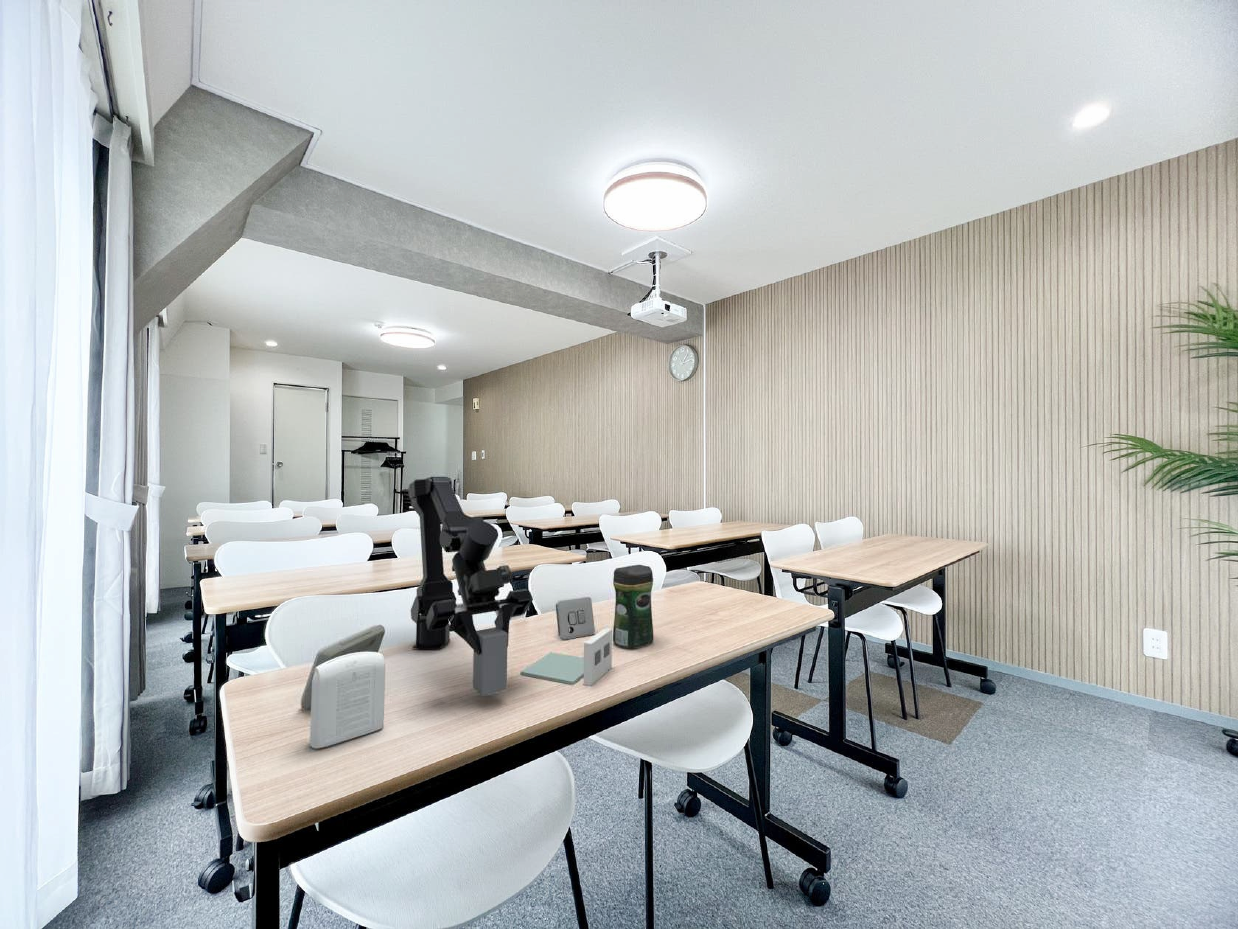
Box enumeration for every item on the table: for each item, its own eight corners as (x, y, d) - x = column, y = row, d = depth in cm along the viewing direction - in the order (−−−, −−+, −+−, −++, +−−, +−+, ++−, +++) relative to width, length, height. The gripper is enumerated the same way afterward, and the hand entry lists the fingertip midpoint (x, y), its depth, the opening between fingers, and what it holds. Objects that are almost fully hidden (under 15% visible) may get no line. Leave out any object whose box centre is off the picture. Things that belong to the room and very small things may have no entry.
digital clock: (366, 673, 101) (367, 620, 101) (400, 681, 97) (401, 626, 97) (286, 708, 86) (287, 645, 86) (322, 718, 82) (323, 653, 82)
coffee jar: (636, 635, 126) (637, 561, 126) (658, 643, 120) (659, 566, 120) (606, 643, 120) (607, 565, 120) (628, 652, 114) (629, 570, 114)
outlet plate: (582, 684, 96) (583, 642, 97) (604, 666, 106) (604, 628, 106) (591, 686, 96) (592, 644, 96) (612, 667, 105) (612, 629, 105)
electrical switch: (561, 641, 121) (560, 602, 122) (553, 637, 125) (552, 599, 126) (595, 635, 126) (594, 597, 127) (586, 631, 130) (585, 595, 131)
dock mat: (520, 674, 101) (520, 671, 101) (550, 655, 112) (550, 652, 112) (573, 685, 96) (573, 681, 96) (599, 663, 107) (599, 660, 107)
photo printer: (378, 719, 82) (380, 643, 82) (388, 729, 79) (389, 650, 79) (306, 742, 75) (308, 659, 75) (313, 754, 72) (315, 667, 72)
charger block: (472, 687, 90) (473, 631, 90) (496, 681, 92) (497, 626, 93) (482, 696, 86) (483, 638, 86) (506, 690, 89) (507, 633, 89)
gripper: (432, 556, 87) (451, 637, 78) (529, 547, 98) (556, 617, 89) (419, 592, 93) (435, 671, 84) (512, 580, 104) (535, 649, 95)
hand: (493, 650), depth 88 cm, fingers closed on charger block, 4 cm apart
